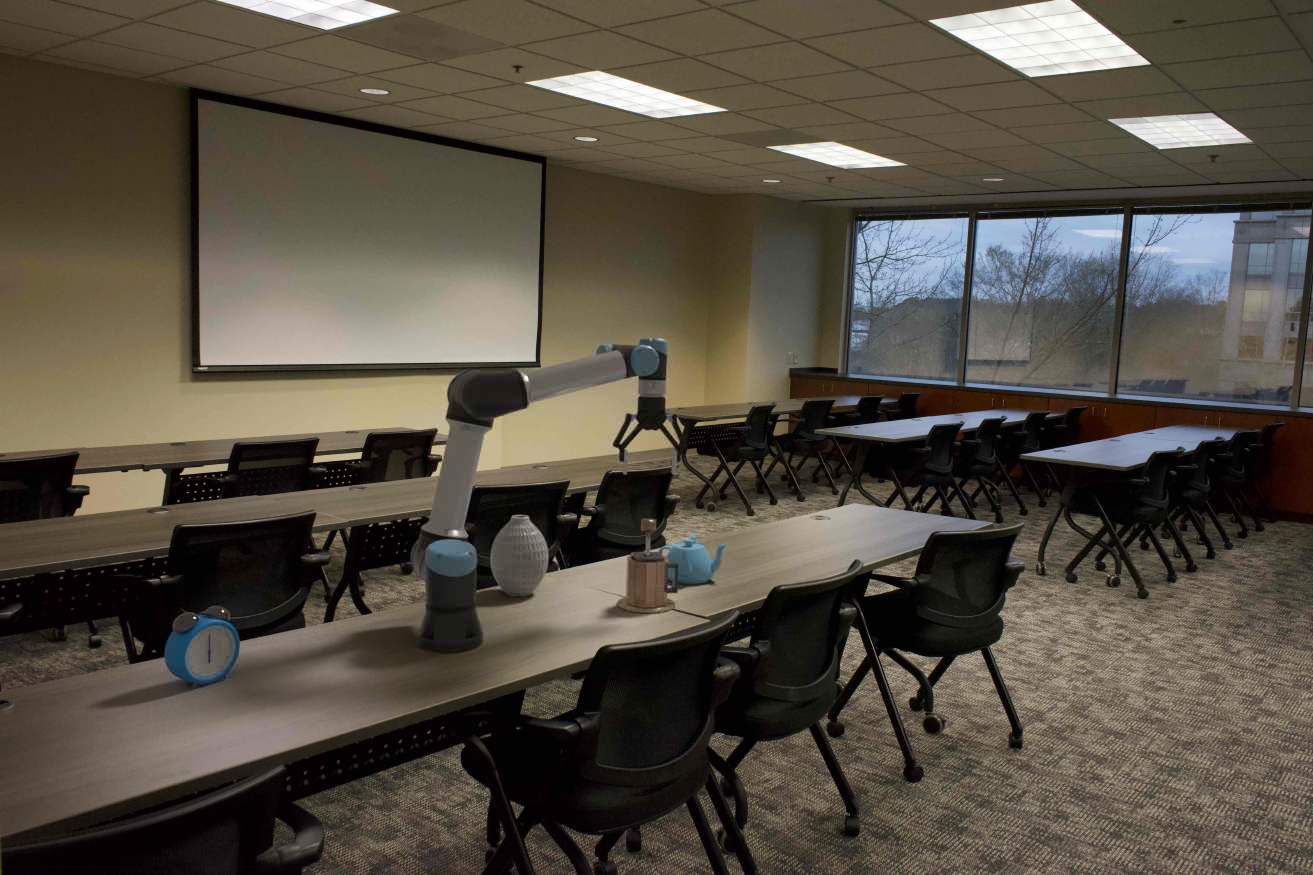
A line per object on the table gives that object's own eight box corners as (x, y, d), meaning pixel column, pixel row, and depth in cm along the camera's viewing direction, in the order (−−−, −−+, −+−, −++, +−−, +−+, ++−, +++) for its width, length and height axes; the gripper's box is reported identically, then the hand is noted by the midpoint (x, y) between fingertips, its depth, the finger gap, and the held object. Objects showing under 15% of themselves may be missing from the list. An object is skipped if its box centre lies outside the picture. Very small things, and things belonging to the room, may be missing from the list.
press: (622, 614, 246) (623, 562, 245) (613, 597, 262) (614, 549, 260) (682, 612, 249) (684, 561, 248) (670, 596, 265) (671, 548, 264)
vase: (486, 587, 269) (487, 511, 267) (541, 584, 274) (543, 510, 272) (494, 602, 253) (495, 522, 251) (552, 599, 258) (554, 520, 256)
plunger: (635, 595, 251) (637, 522, 249) (631, 588, 258) (633, 517, 256) (662, 594, 252) (664, 522, 250) (657, 587, 260) (659, 517, 258)
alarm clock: (181, 694, 183) (179, 619, 181) (163, 687, 186) (161, 614, 185) (241, 675, 194) (240, 605, 193) (223, 669, 197) (222, 600, 196)
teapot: (729, 581, 285) (731, 542, 283) (682, 589, 273) (683, 548, 272) (693, 569, 298) (695, 532, 297) (647, 577, 287) (648, 538, 286)
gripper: (607, 395, 244) (605, 475, 246) (700, 397, 249) (697, 476, 251) (604, 394, 251) (602, 471, 253) (693, 395, 256) (690, 472, 258)
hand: (649, 474), depth 252 cm, fingers open, 13 cm apart
